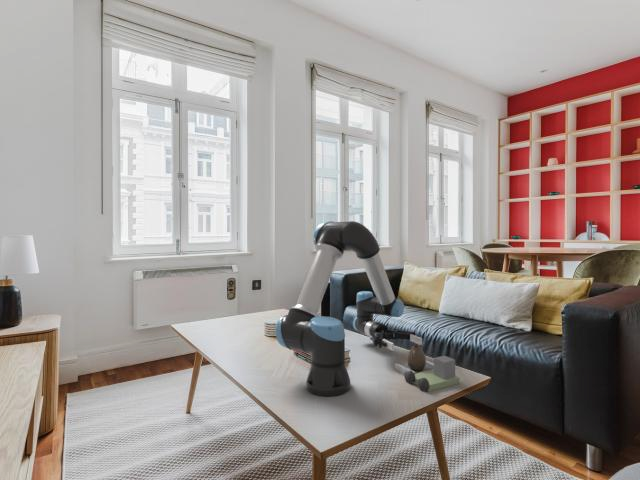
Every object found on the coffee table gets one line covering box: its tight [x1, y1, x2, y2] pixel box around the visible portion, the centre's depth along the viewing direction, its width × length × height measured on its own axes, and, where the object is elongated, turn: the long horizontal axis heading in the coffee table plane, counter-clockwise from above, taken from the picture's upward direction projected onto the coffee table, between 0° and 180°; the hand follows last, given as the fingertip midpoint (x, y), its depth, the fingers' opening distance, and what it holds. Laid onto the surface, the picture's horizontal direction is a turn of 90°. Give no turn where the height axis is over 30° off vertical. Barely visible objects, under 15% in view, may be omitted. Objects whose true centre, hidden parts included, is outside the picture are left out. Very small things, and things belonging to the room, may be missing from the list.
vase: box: [406, 344, 427, 371], centre depth 145 cm, size 7×7×9 cm
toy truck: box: [403, 355, 461, 392], centre depth 135 cm, size 11×16×8 cm
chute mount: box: [394, 359, 434, 376], centre depth 145 cm, size 10×13×2 cm
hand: (407, 344), depth 150 cm, fingers open, 13 cm apart
